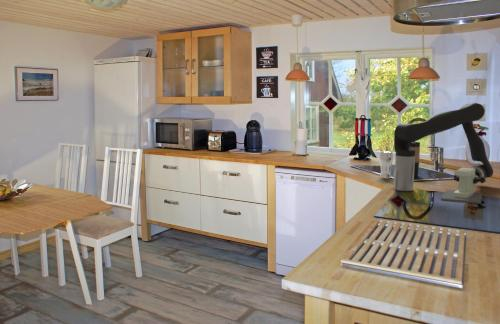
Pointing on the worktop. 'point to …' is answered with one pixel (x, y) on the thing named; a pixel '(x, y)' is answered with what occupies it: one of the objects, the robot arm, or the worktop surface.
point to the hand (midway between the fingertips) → (465, 180)
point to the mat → (472, 199)
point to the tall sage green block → (465, 182)
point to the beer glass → (386, 164)
